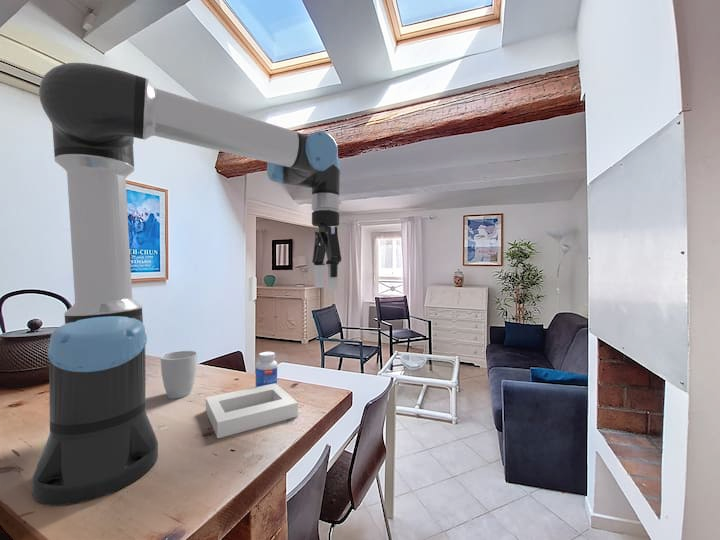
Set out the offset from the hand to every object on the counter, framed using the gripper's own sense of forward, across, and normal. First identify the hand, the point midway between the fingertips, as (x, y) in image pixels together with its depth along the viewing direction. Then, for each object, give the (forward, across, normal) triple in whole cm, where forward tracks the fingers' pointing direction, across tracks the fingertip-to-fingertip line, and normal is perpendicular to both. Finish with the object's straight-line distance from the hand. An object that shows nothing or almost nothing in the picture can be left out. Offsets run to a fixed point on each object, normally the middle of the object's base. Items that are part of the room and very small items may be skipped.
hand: (325, 288), depth 88 cm
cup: (+27, +7, +36) cm, 45 cm away
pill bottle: (+26, +1, +15) cm, 31 cm away
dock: (+26, -8, +21) cm, 34 cm away
